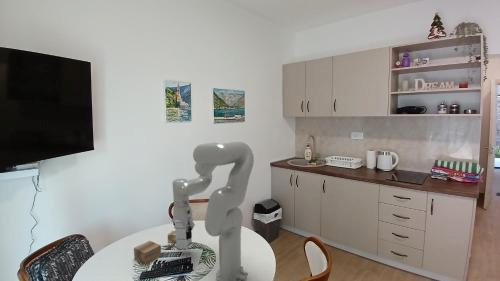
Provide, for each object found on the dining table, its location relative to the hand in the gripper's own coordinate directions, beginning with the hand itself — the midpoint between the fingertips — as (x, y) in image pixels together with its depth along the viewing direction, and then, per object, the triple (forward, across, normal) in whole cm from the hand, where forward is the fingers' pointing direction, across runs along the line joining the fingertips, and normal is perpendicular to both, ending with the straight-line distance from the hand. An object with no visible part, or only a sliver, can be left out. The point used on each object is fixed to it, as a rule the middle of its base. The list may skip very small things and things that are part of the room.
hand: (183, 236), depth 134 cm
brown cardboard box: (+8, +13, +13) cm, 20 cm away
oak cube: (+8, +16, -6) cm, 19 cm away
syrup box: (+5, 0, 0) cm, 5 cm away
